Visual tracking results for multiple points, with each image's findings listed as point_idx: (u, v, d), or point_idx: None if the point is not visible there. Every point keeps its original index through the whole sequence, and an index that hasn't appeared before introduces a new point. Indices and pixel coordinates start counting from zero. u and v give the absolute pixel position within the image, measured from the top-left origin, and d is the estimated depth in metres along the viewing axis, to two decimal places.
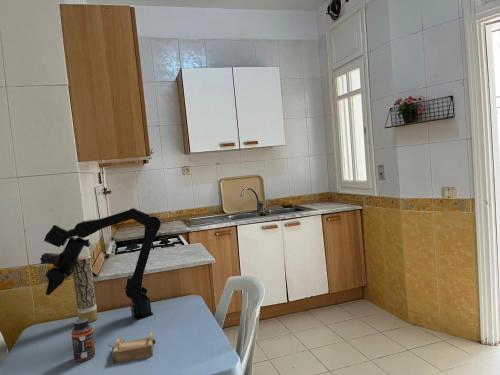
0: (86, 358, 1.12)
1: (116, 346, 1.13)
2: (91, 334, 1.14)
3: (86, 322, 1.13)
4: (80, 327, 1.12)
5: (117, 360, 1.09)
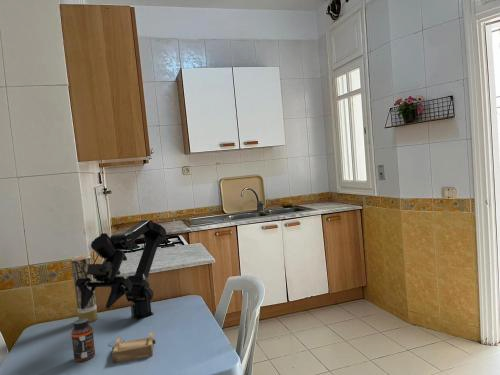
0: (86, 358, 1.12)
1: (116, 346, 1.13)
2: (91, 334, 1.14)
3: (86, 322, 1.13)
4: (80, 327, 1.12)
5: (117, 360, 1.09)
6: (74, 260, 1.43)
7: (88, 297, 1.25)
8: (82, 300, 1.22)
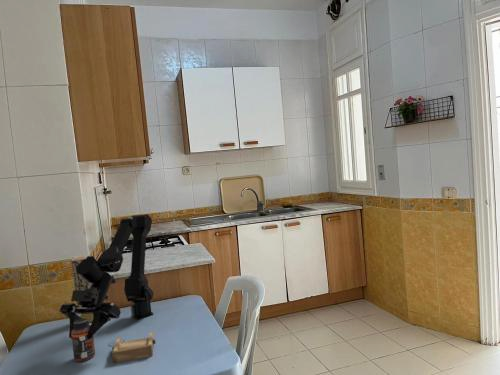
0: (86, 358, 1.12)
1: (116, 346, 1.13)
2: None
3: (86, 322, 1.13)
4: (80, 326, 1.12)
5: (117, 360, 1.09)
6: (74, 260, 1.43)
7: None
8: (70, 329, 1.14)
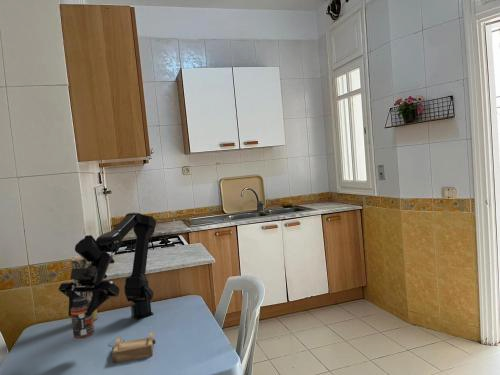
0: (85, 335, 1.12)
1: (116, 346, 1.13)
2: None
3: (85, 300, 1.14)
4: (79, 304, 1.13)
5: (117, 360, 1.09)
6: (74, 260, 1.43)
7: None
8: (69, 307, 1.15)
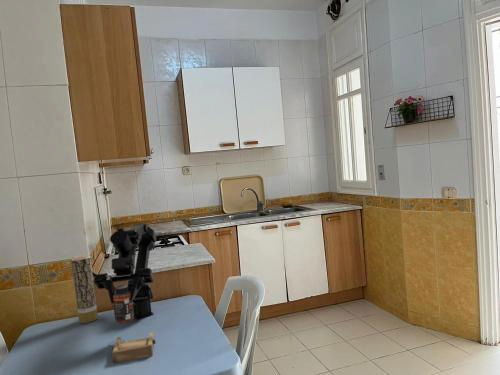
0: (129, 319, 1.22)
1: (116, 346, 1.13)
2: None
3: (127, 287, 1.24)
4: (123, 291, 1.22)
5: (117, 360, 1.09)
6: (74, 260, 1.43)
7: (113, 292, 1.26)
8: (110, 295, 1.23)
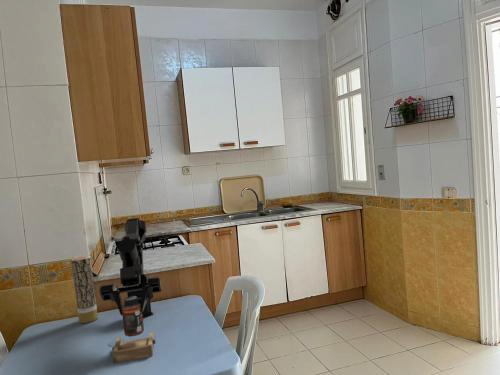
0: (140, 332, 1.17)
1: (116, 346, 1.13)
2: None
3: None
4: (133, 302, 1.17)
5: (117, 360, 1.09)
6: (74, 260, 1.43)
7: (121, 303, 1.20)
8: (119, 306, 1.17)
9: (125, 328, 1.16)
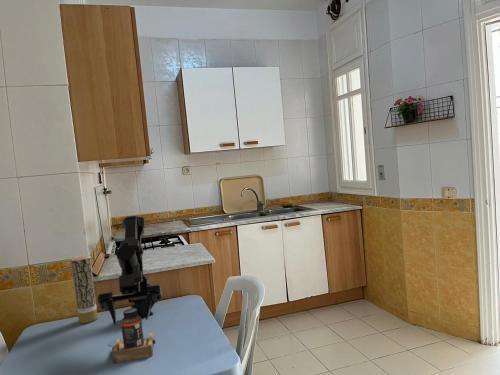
0: (141, 345, 1.14)
1: (116, 346, 1.13)
2: (141, 322, 1.16)
3: (136, 310, 1.16)
4: (133, 315, 1.14)
5: (117, 360, 1.09)
6: (74, 260, 1.43)
7: (115, 312, 1.16)
8: (113, 316, 1.13)
9: (125, 342, 1.13)
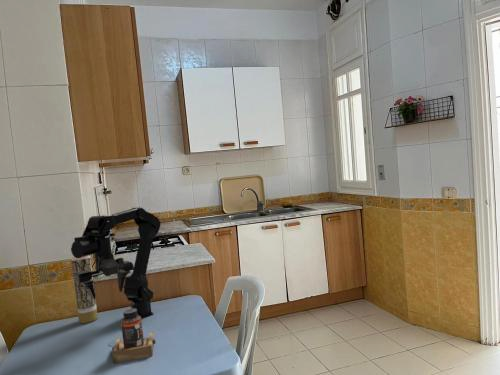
0: (141, 345, 1.14)
1: (116, 346, 1.13)
2: (141, 322, 1.16)
3: (136, 311, 1.15)
4: (133, 315, 1.13)
5: (117, 360, 1.09)
6: (74, 260, 1.43)
7: None
8: (93, 293, 1.28)
9: (125, 342, 1.13)
